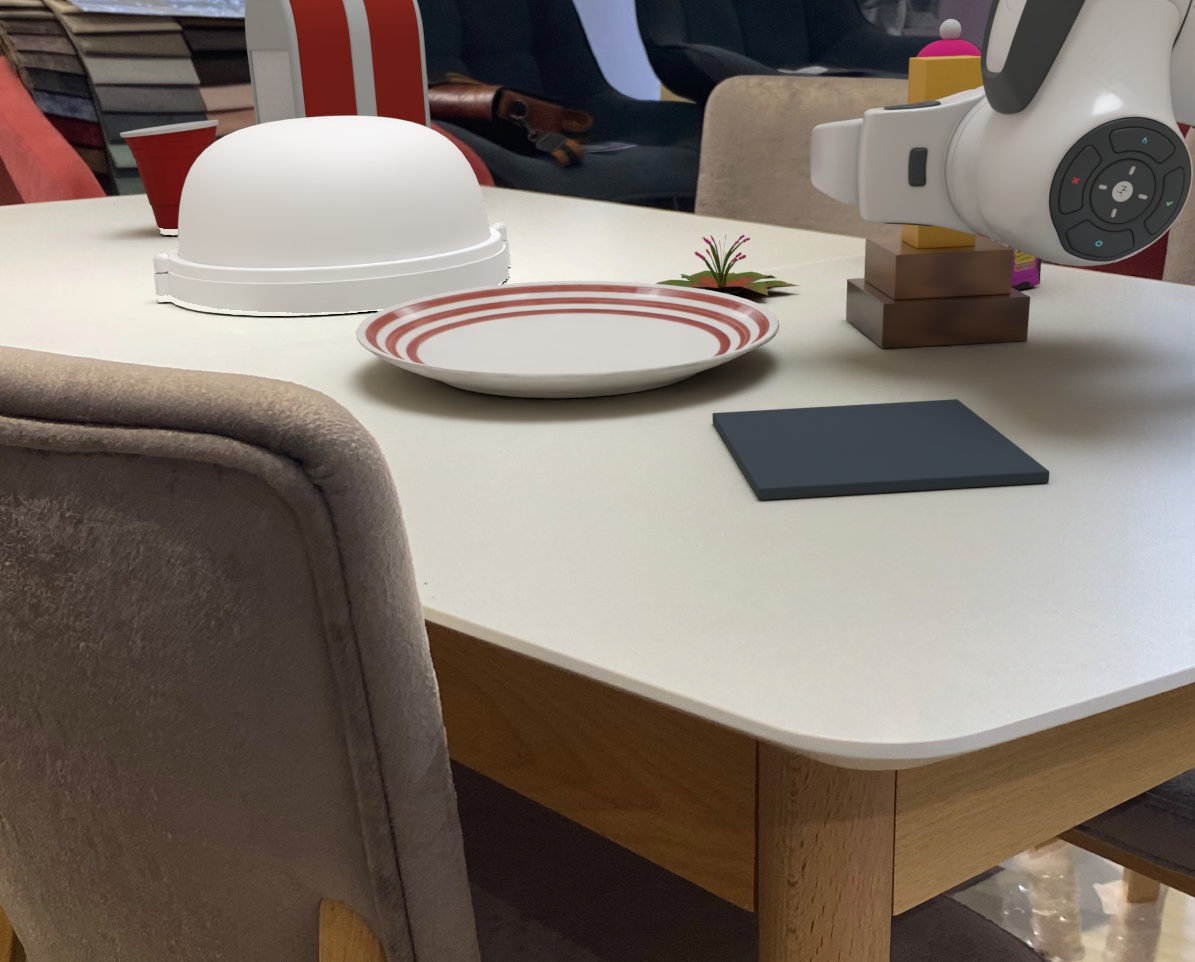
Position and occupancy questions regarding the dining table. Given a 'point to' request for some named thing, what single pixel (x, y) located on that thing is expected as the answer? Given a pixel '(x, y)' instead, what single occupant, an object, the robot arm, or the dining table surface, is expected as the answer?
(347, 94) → the red striped carton
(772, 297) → the dining table surface
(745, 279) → the lily flower
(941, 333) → the stepped bronze pedestal
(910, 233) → the bar
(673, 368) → the dinner plate
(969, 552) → the dining table surface
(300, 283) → the dome cover
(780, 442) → the mat
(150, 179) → the plastic cup
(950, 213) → the robot arm
